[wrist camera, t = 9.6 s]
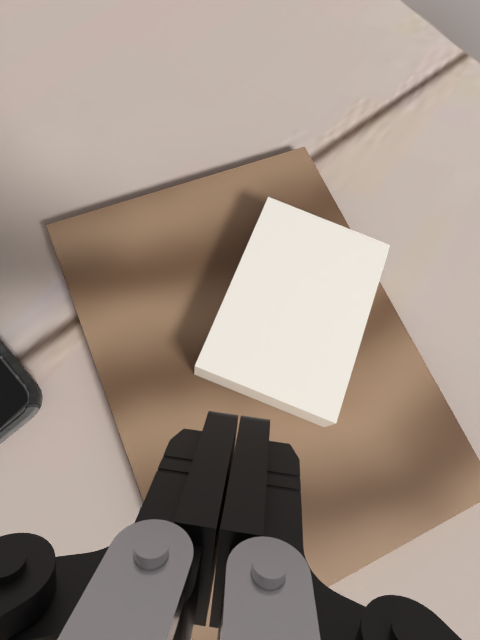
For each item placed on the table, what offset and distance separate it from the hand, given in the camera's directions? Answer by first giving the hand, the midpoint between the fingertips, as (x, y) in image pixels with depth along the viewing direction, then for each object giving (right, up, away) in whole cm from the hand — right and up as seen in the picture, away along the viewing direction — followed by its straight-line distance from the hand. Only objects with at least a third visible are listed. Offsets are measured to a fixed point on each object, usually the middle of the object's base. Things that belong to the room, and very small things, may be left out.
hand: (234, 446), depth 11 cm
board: (+1, +1, +13) cm, 13 cm away
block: (+1, -1, +10) cm, 11 cm away
